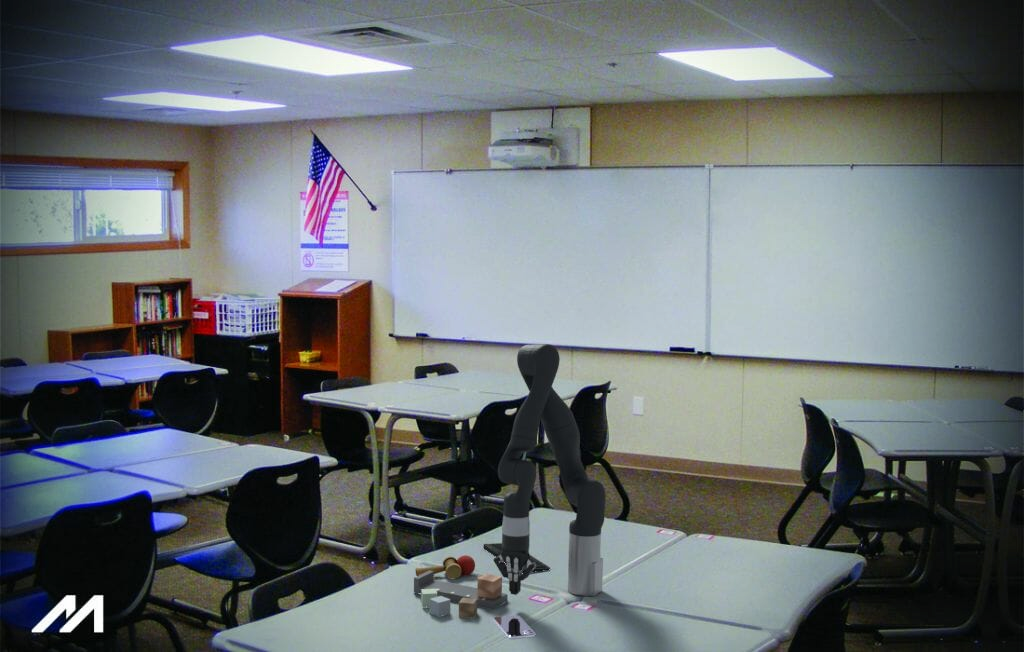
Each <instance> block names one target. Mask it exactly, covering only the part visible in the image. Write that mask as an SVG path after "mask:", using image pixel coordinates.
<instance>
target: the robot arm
mask: <svg viewBox="0 0 1024 652" xmlns="http://www.w3.org/2000/svg"><path fill="white" fill-rule="evenodd" d="M560 359H561V358H560V354H559V351H558V349H557V348H556V347H555V346H554V345H552V344H549V343H538V344H537V343H536V344H535V343H533V344H525V345H523V346H521V347H520V348H519V350H518V352H517V355H516V363H517V367H518V370H519V372H520V375H521V377H522V379H523V381H524V382H525V385H526V386H527V389H528V391H529V393H528V394H527V396H526V398H525V399H524V401H523V402H522V404H521V406H520V408H519V410H518V412H517V413H516V416H515V418H514V422H513V426H512V429H511V430H512V431H511V435H510V436H511V437H510V441H509V443H508V444H507V447H506V449H505V451H504V453H503V456H502V457H501V459H500V461H499V464H498V467H497V475H498V478H499V480H500V481H501V482H502V483H503V484H507V485H514V486H517V490H516V491H515V492H514V491H512V492H508V493H506V494H505V495H504V497H503V514H502V515H503V517H502V525H501V531H502V532H501V535H502V536H501V543H502V551H501V555H500V556H498V557H494V558H493V562H494V565H496V567H497V569H498V570H499V572H500V575H502V576H501V577H502V578H506V579H508V582H509V583H508V585H509V586H508V590H509V592H510V595H514V596H517V595H518V594H519V593H520V592H521V590H522V589H521V585H522V583H521V582H522V581H524V580H526V579H528V577H529V576H530V575H531V574H532V573H531V572H532V571H533V570H534V569H535V568H536V567H537V563H536V562H533V561H532V560H531V559H530V555H531V554H530V541H531V540H530V535H531V534H530V532H531V531H530V530H531V521H530V501H531V496H532V493H533V488H534V485H535V483H536V479H537V469H536V468H537V467H536V465H535V464H534V463H533V462H532V461H531V460H526V459H520V458H521V456H522V454H524V453H530V452H533V451H534V450H535V449H536V445H537V440H538V434H539V429H540V425H541V424H542V427H543V430H544V433H545V435H546V438H547V441H548V443H549V446H550V449H551V451H552V454H553V456H554V458H555V462H556V464H557V467H558V470H559V474H560V477H561V481H562V486H563V490H564V493H565V494H564V495H565V497H566V499H567V501H568V502H569V503H570V504H571V505H573V506H575V507H576V517H575V519H573V520H572V521H570V522H569V528H568V529H569V533H568V535H569V536H568V538H569V539H568V571H567V573H568V574H567V576H568V577H567V590H568V592H569V593H571V594H573V595H577V596H584V597H585V596H586V597H587V596H589V597H590V596H592V597H595V596H597V595H598V594H599V593H600V592H602V591H603V582H604V581H603V578H604V577H603V575H604V573H603V572H604V558H603V557H601V556H602V555H601V553H602V552H601V547H602V546H601V545H602V527H603V525H604V522H605V516H606V504H607V503H606V501H607V500H606V498H607V497H606V488H605V486H604V485H603V483H602V482H600V481H598V480H596V479H594V478H591V477H589V476H588V474H587V472H586V469H585V467H584V465H583V462H582V460H581V459H582V458H581V456H580V455H581V454H580V447H581V445H580V443H581V441H580V440H581V439H580V438H581V437H580V436H581V434H580V431H579V430H580V429H579V427H578V424H577V422H576V419H575V417H574V414H573V412H572V410H571V408H570V407H569V406H568V404H567V403H566V402H565V401H564V399H562V398H561V396H560V395H559V394H558V393H557V391H556V390H555V389H554V388H553V384H554V382H555V378H556V376H557V373H558V370H559V367H560V366H559V365H560ZM504 562H505V563H506V564H505V563H504ZM526 563H527V569H526V570H525V572H524V573H523V574H522V572H523V567H524V566H525V565H526Z"/></svg>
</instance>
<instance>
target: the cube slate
mask: <svg viewBox="0 0 1024 652" xmlns="http://www.w3.org/2000/svg"><path fill="white" fill-rule="evenodd" d="M428 609H429V612H430V613H432V614H434V615H433V616H435V615H436V616H435V617H437V616H438V617H437V618H440V617H439V616H441V617H443V616H442V615H445V616H448V615H451V601H450V599H448V598H445V597H443V596H438V597H435V598H431V599H430V603H429V608H428ZM430 613H429V614H430ZM432 614H431V615H432ZM447 614H448V615H447Z"/></svg>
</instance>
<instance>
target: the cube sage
mask: <svg viewBox="0 0 1024 652" xmlns="http://www.w3.org/2000/svg"><path fill="white" fill-rule="evenodd" d="M435 597H437V591H436V589H421V595H420V604H421V603H422V605H421V607H422V606H423V607H426V606H427V607H429V603H430V599H431V598H435Z"/></svg>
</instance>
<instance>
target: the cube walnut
mask: <svg viewBox="0 0 1024 652" xmlns="http://www.w3.org/2000/svg"><path fill="white" fill-rule="evenodd" d="M477 614H478V606H477V599H474V598H464V597H463V598H462V599H461V600H460V602H458V617H459V618H468V619H469V618H470V619H474V618H475V616H476V615H477Z"/></svg>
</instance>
